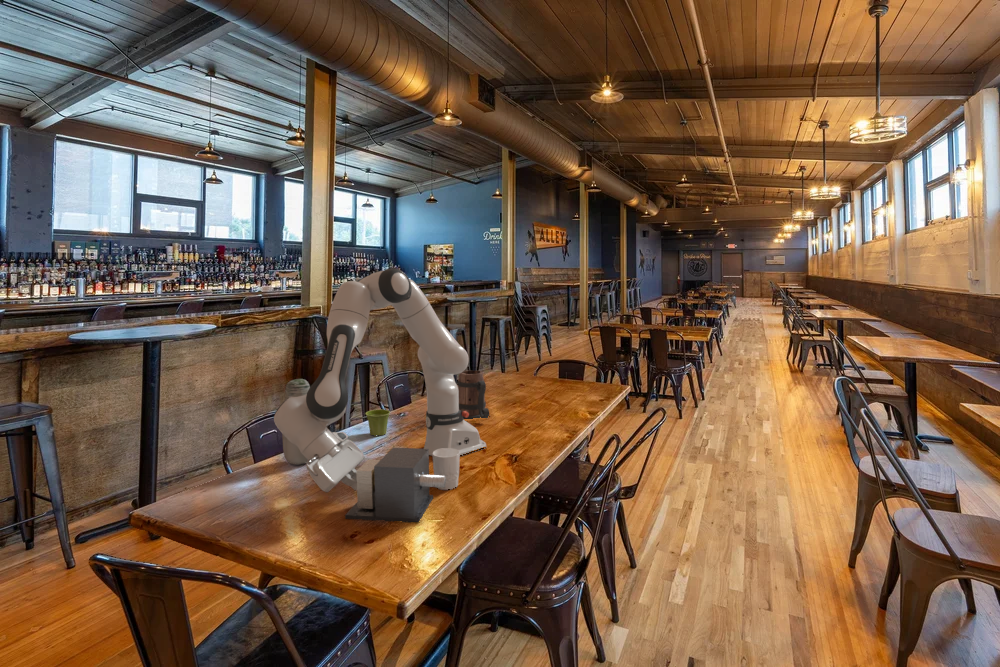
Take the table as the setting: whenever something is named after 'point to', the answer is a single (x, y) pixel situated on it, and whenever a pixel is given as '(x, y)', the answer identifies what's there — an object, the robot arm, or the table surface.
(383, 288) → the robot arm
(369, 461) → the shaft
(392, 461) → the bearing block
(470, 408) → the tankard
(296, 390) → the glass bottle
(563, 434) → the table surface
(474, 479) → the table surface
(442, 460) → the white cup
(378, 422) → the plant pot
